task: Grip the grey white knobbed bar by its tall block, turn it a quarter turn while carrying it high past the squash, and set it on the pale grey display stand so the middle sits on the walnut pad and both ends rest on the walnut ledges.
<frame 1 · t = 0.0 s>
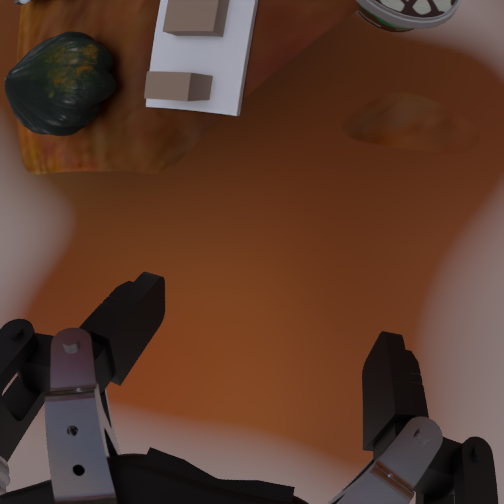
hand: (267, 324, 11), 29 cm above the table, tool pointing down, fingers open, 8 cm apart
squash: (88, 82, 37), on the table
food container: (404, 16, 26), on the table
display stand: (206, 19, 31), on the table
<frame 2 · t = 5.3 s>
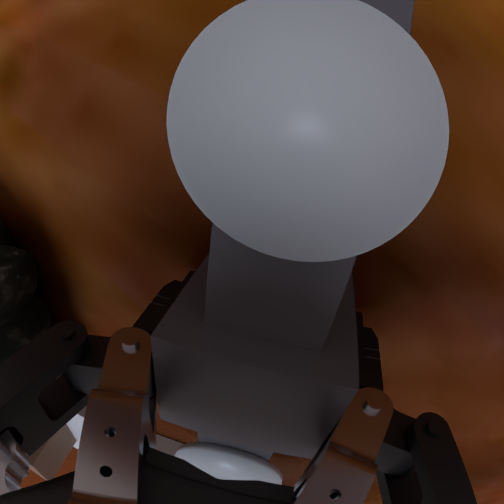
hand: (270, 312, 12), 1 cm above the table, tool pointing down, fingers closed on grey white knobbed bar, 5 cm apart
squash: (14, 278, 18), on the table
display stand: (138, 450, 25), on the table
grey white knobbed bar: (277, 290, 13), on the table, touching gripper
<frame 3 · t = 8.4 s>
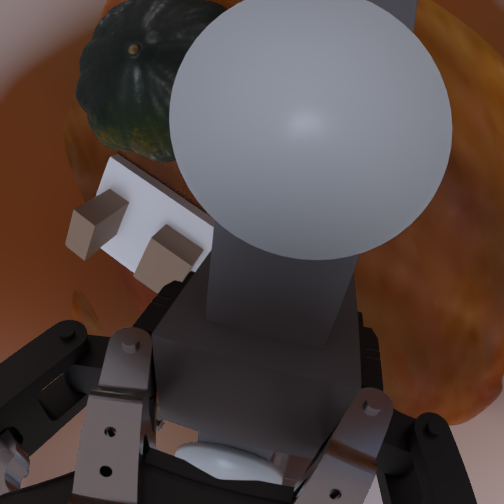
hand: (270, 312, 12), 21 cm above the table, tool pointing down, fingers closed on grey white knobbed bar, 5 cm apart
squash: (189, 73, 27), on the table
display stand: (179, 249, 37), on the table
grey white knobbed bar: (278, 289, 13), point 19 cm above the table, touching gripper
when the fingers open (8 cm above the table, at t = 12.0 s): grey white knobbed bar drops 1 cm, resting on display stand.
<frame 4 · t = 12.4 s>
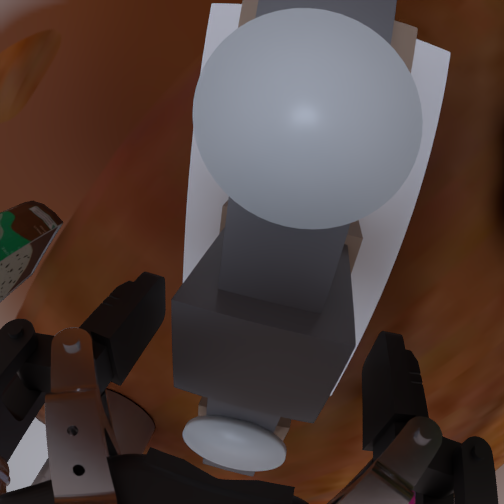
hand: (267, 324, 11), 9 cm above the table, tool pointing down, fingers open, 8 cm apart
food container: (28, 225, 24), on the table
display stand: (292, 228, 19), on the table
grey white knobbed bar: (280, 271, 14), point 5 cm above the table, touching display stand
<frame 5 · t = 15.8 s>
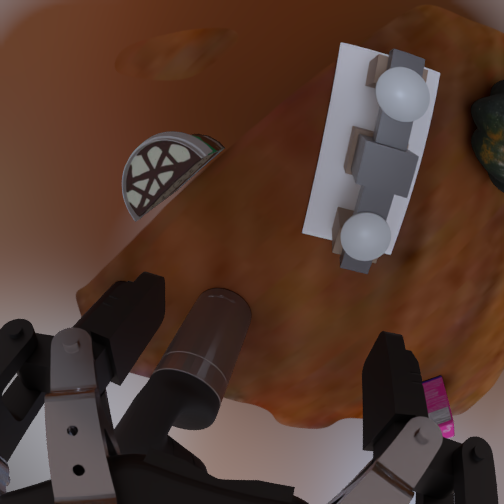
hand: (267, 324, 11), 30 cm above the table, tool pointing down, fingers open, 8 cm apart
supplement box: (429, 386, 50), on the table
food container: (185, 152, 40), on the table
bottle: (128, 295, 55), on the table
display stand: (371, 150, 35), on the table
grey white knobbed bar: (377, 157, 31), point 5 cm above the table, touching display stand
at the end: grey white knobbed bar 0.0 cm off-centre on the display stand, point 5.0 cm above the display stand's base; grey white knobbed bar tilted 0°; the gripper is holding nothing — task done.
